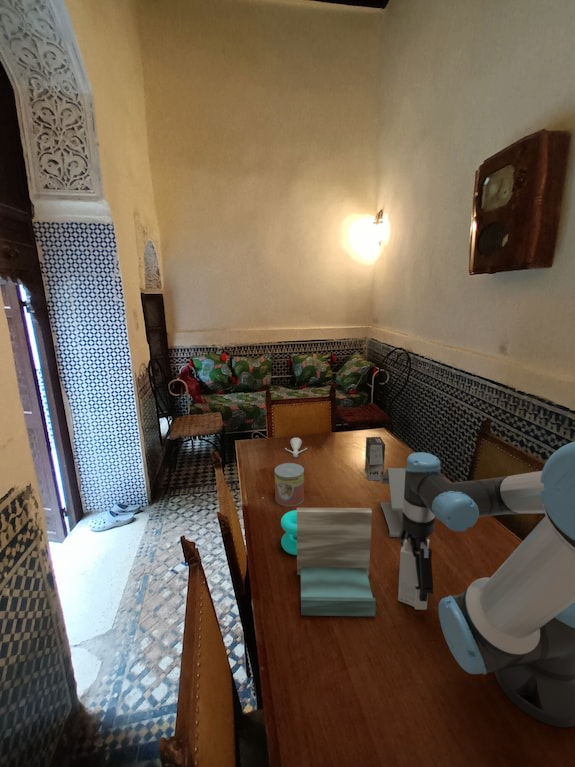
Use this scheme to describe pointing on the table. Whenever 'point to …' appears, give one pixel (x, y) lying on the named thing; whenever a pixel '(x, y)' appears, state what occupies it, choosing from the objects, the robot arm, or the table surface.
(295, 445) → the woman figurine
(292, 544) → the donuts
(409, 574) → the skincare box
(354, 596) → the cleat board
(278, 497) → the canned food
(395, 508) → the folded metal stand
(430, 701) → the table surface
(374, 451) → the coffee box
